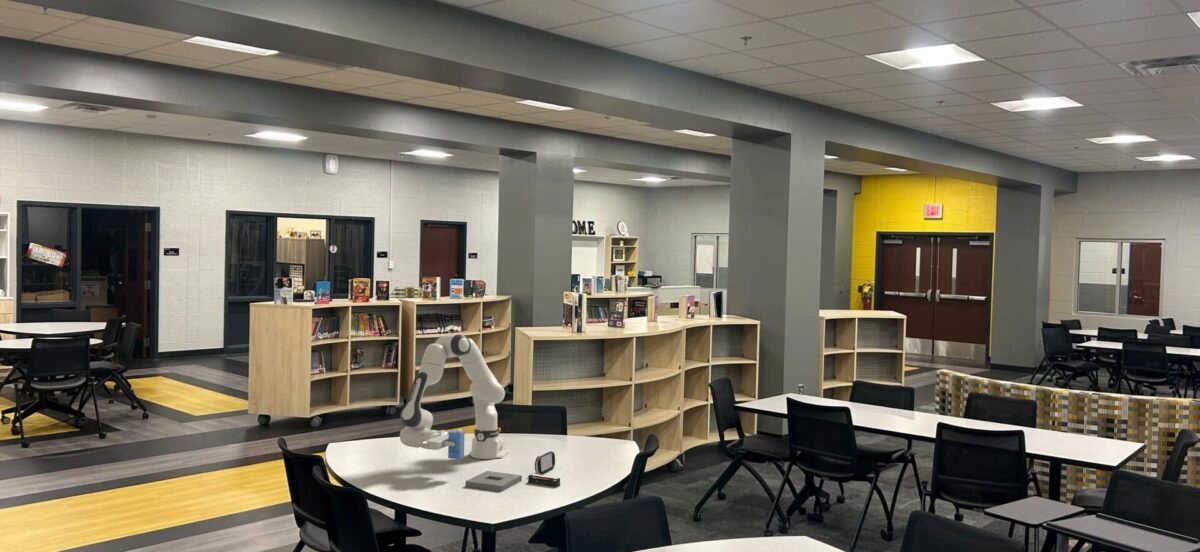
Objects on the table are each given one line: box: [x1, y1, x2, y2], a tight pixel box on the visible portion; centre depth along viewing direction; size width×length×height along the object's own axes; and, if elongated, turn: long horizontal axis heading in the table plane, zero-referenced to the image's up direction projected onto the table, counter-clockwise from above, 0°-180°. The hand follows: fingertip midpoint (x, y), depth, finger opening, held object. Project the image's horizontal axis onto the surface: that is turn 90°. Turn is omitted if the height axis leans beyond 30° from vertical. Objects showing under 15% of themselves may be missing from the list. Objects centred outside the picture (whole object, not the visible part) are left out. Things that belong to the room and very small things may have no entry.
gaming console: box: [534, 450, 556, 475], centre depth 397 cm, size 19×9×2 cm
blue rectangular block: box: [447, 428, 466, 460], centre depth 381 cm, size 10×6×13 cm, turn 160°
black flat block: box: [527, 473, 561, 488], centre depth 374 cm, size 14×25×4 cm, turn 66°
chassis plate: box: [465, 470, 523, 493], centre depth 374 cm, size 20×18×2 cm
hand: (458, 442), depth 380 cm, fingers closed on blue rectangular block, 4 cm apart
